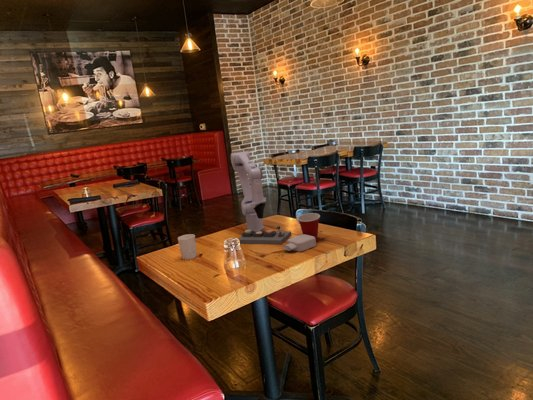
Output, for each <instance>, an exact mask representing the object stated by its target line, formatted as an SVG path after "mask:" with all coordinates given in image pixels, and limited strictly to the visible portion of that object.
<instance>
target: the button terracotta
mask: <svg viewBox="0 0 533 400" xmlns="http://www.w3.org/2000/svg"><path fill="white" fill-rule="evenodd" d="M265 231H266V232H267V234H272V233H273V231H274V229H272V228H270V229H267V230H265Z"/></svg>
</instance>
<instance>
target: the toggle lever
mask: <svg viewBox="0 0 533 400" xmlns="http://www.w3.org/2000/svg"><path fill="white" fill-rule="evenodd" d="M276 230H278V231H279V233H280V234H282V231H283V230H281V226H280V225H277V226H276Z"/></svg>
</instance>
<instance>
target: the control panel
mask: <svg viewBox="0 0 533 400" xmlns="http://www.w3.org/2000/svg"><path fill="white" fill-rule="evenodd" d="M261 231H262V233H261V234H256V232H257V231H251V233H250V234H245V231H244V232H242V233H241V236H239V237H238V238H237V239H239V240H240V243H241V244H243V245H246V244H247V245H283V243H285V242H287V241H288V239H290V237H291V236H292V231H290V230H289V231H287V230H286V231H284V230H281V231H282V234H280V233H279V230H278V231H277V230H273V233H272V234H267V232H266V230H261ZM241 244H240V245H241Z"/></svg>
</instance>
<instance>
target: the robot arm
mask: <svg viewBox="0 0 533 400" xmlns="http://www.w3.org/2000/svg"><path fill="white" fill-rule="evenodd" d="M230 163H231V165H232V166H231V167H232V169H233V170H234V171H236V172H237V175H238V178H239V182H240V187H241V190H242V193H243V199H242V201H241V202H240V205H241V211H242V212H241V213H242V214H243V215H244V216H245V220H246V226H247V229H251V231H263V229H264V228H266V226H265V225H264V221H263V218H264V211H265V207H266V202H267V197H265V196H264V189H263V183H262V182H263V181H262V179H263V171H262V167H260V166H258V167H257V165H256V164H255V163H254V162H253V161H252V160H251V155H250V151H248V150H246V151H238V152H231V153H230Z"/></svg>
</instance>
